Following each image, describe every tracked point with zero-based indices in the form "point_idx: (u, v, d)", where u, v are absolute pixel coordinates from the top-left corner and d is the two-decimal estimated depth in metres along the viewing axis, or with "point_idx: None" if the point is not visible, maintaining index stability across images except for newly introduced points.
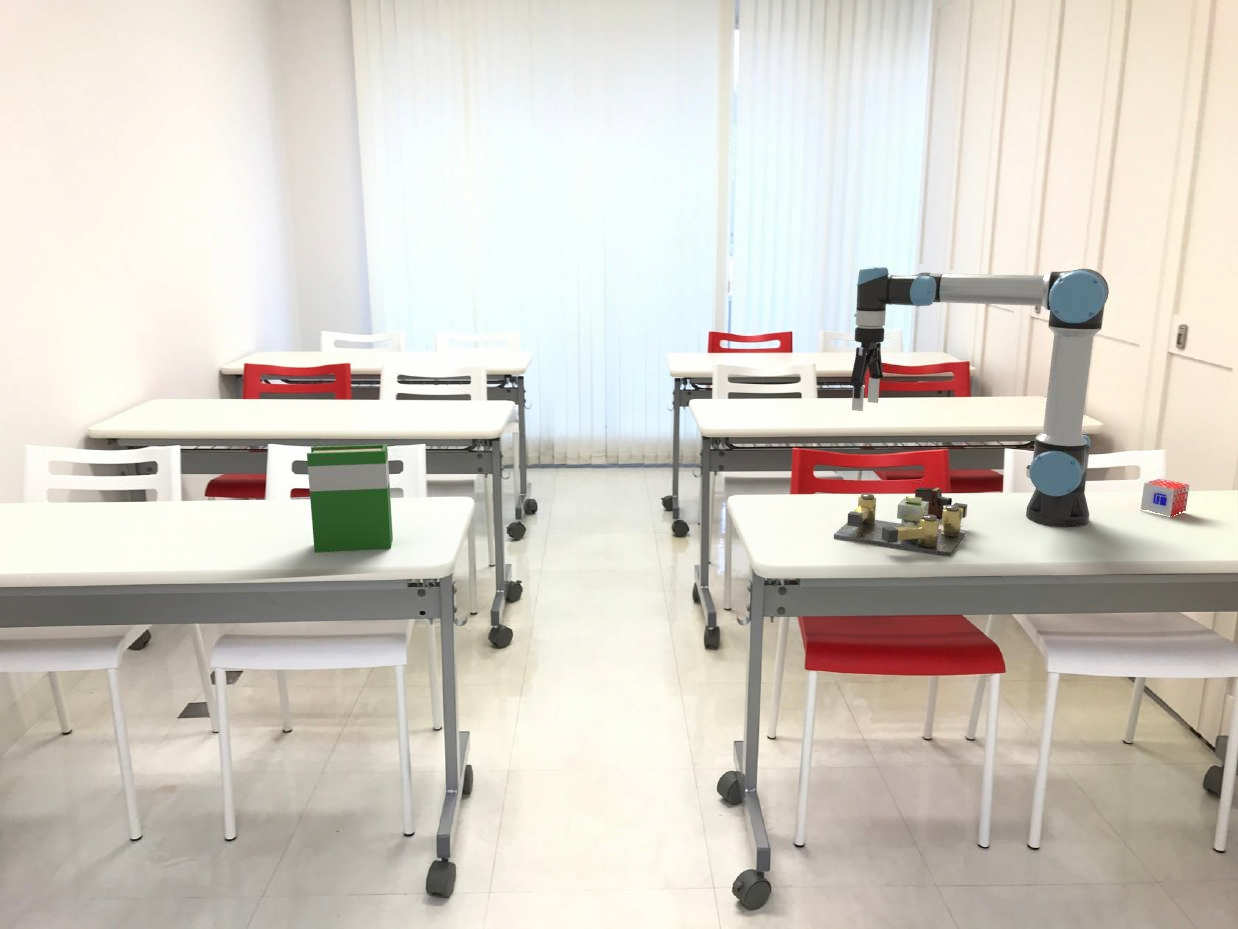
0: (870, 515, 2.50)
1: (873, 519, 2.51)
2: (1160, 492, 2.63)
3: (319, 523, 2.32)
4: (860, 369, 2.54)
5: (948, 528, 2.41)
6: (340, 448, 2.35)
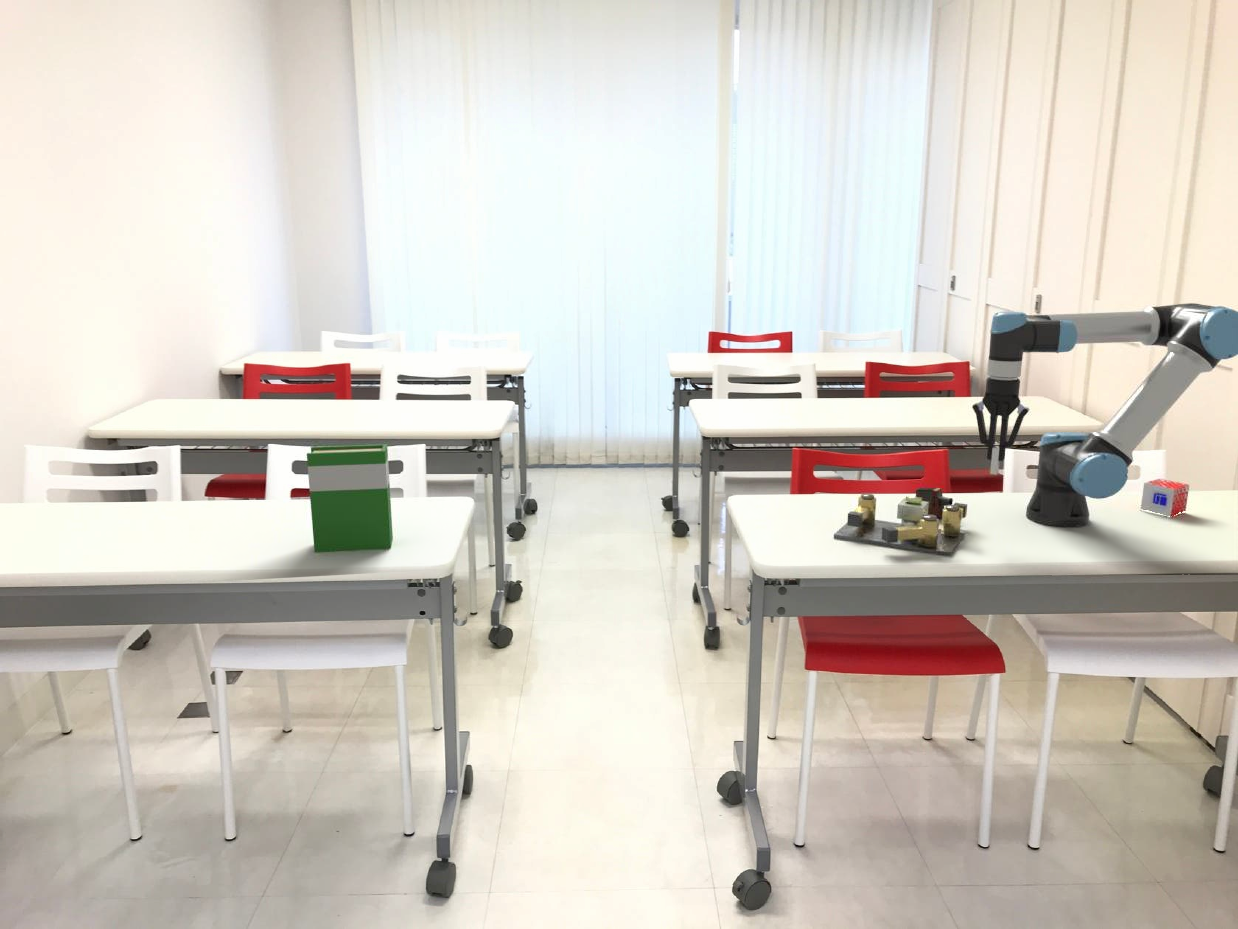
0: (870, 515, 2.50)
1: (873, 519, 2.51)
2: (1160, 492, 2.63)
3: (319, 523, 2.32)
4: None
5: (948, 528, 2.41)
6: (340, 448, 2.35)
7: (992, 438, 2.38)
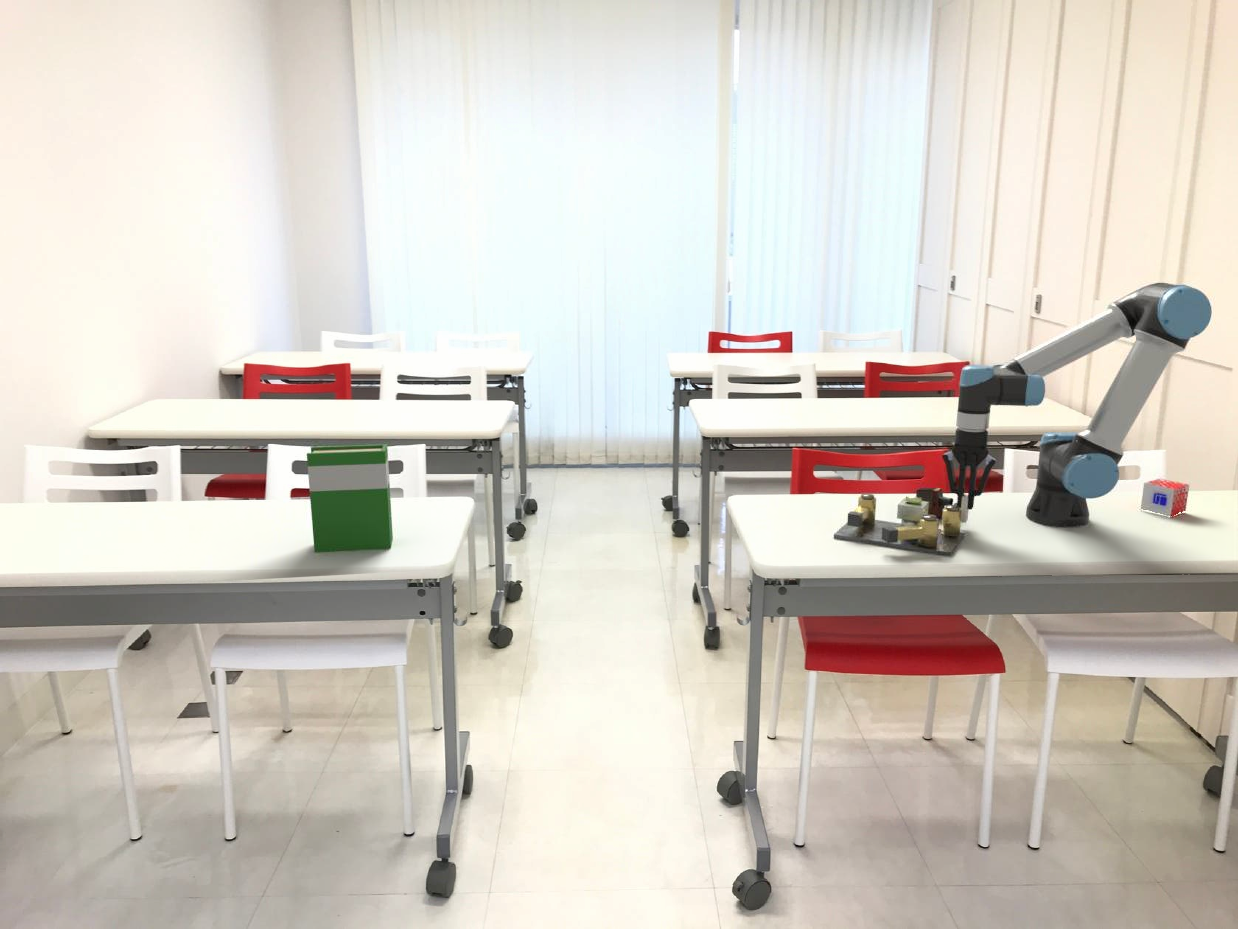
0: (870, 515, 2.50)
1: (873, 519, 2.51)
2: (1160, 492, 2.63)
3: (319, 523, 2.32)
4: None
5: (948, 528, 2.41)
6: (340, 448, 2.35)
7: (961, 487, 2.44)
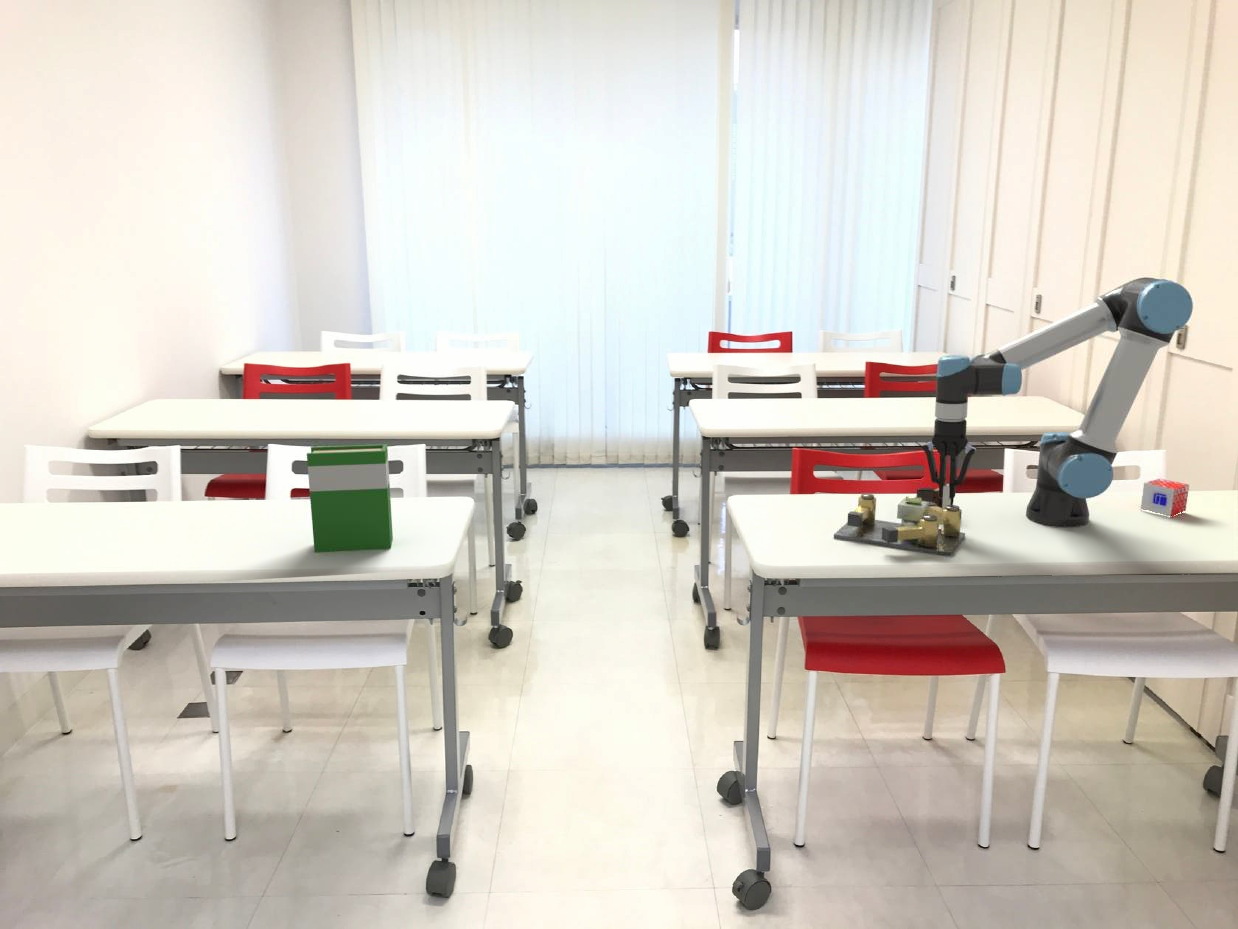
0: (870, 515, 2.50)
1: (873, 519, 2.51)
2: (1160, 492, 2.63)
3: (319, 523, 2.32)
4: None
5: (955, 528, 2.40)
6: (340, 448, 2.35)
7: (942, 477, 2.46)
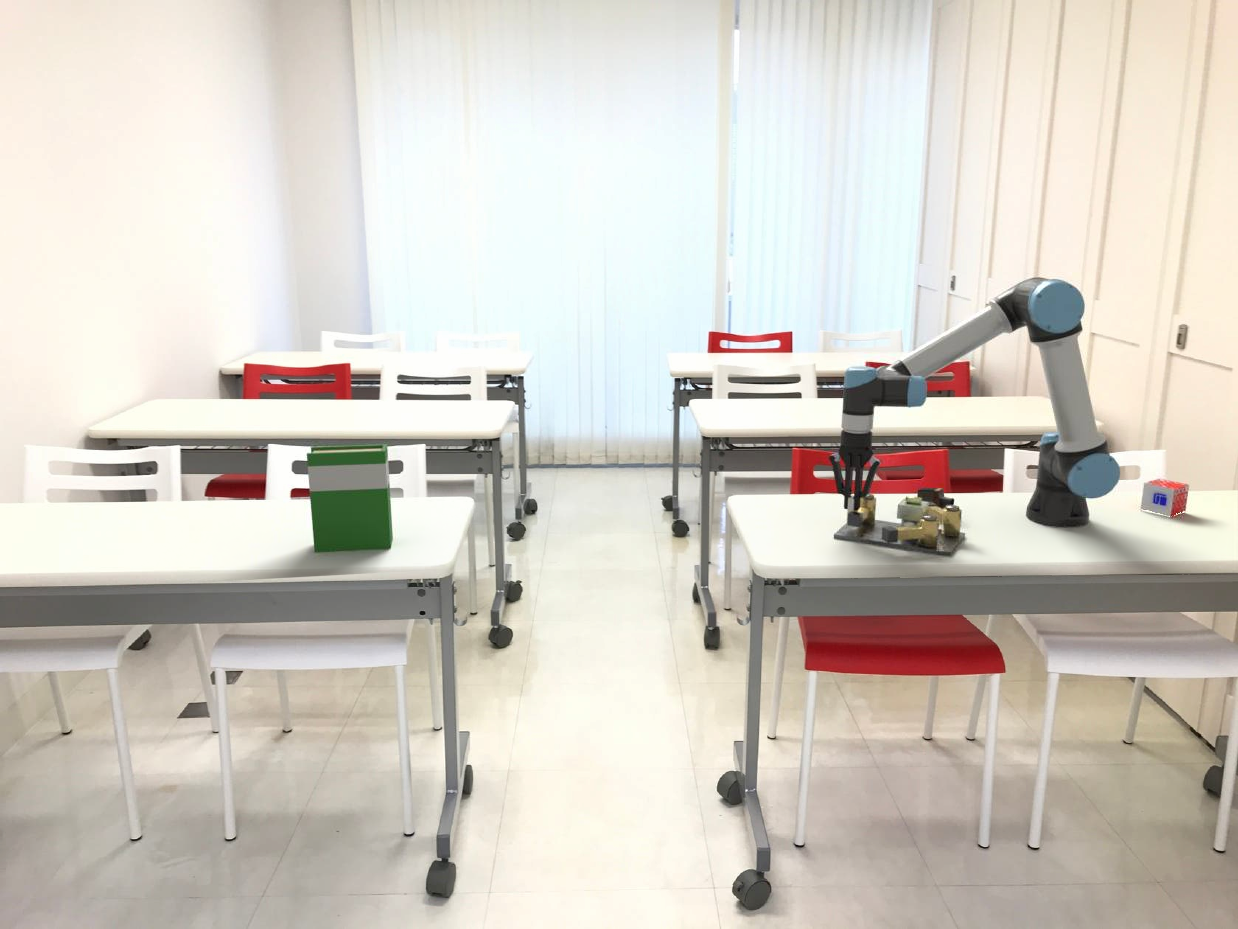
0: (870, 515, 2.50)
1: (873, 519, 2.51)
2: (1160, 492, 2.63)
3: (319, 523, 2.32)
4: None
5: (955, 528, 2.40)
6: (340, 448, 2.35)
7: (848, 488, 2.45)
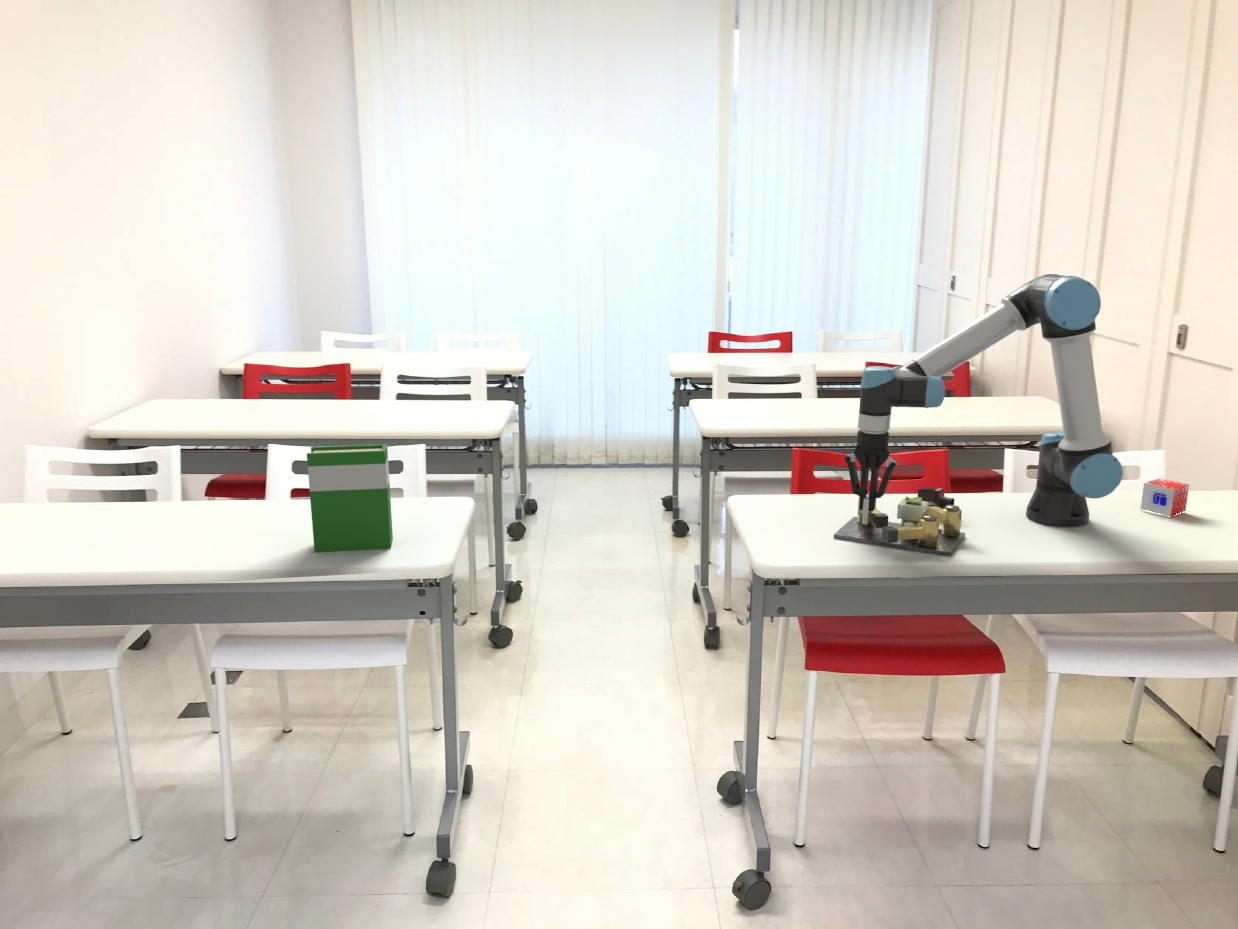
0: None
1: None
2: (1160, 492, 2.63)
3: (319, 523, 2.32)
4: None
5: (955, 528, 2.40)
6: (340, 448, 2.35)
7: (863, 489, 2.43)
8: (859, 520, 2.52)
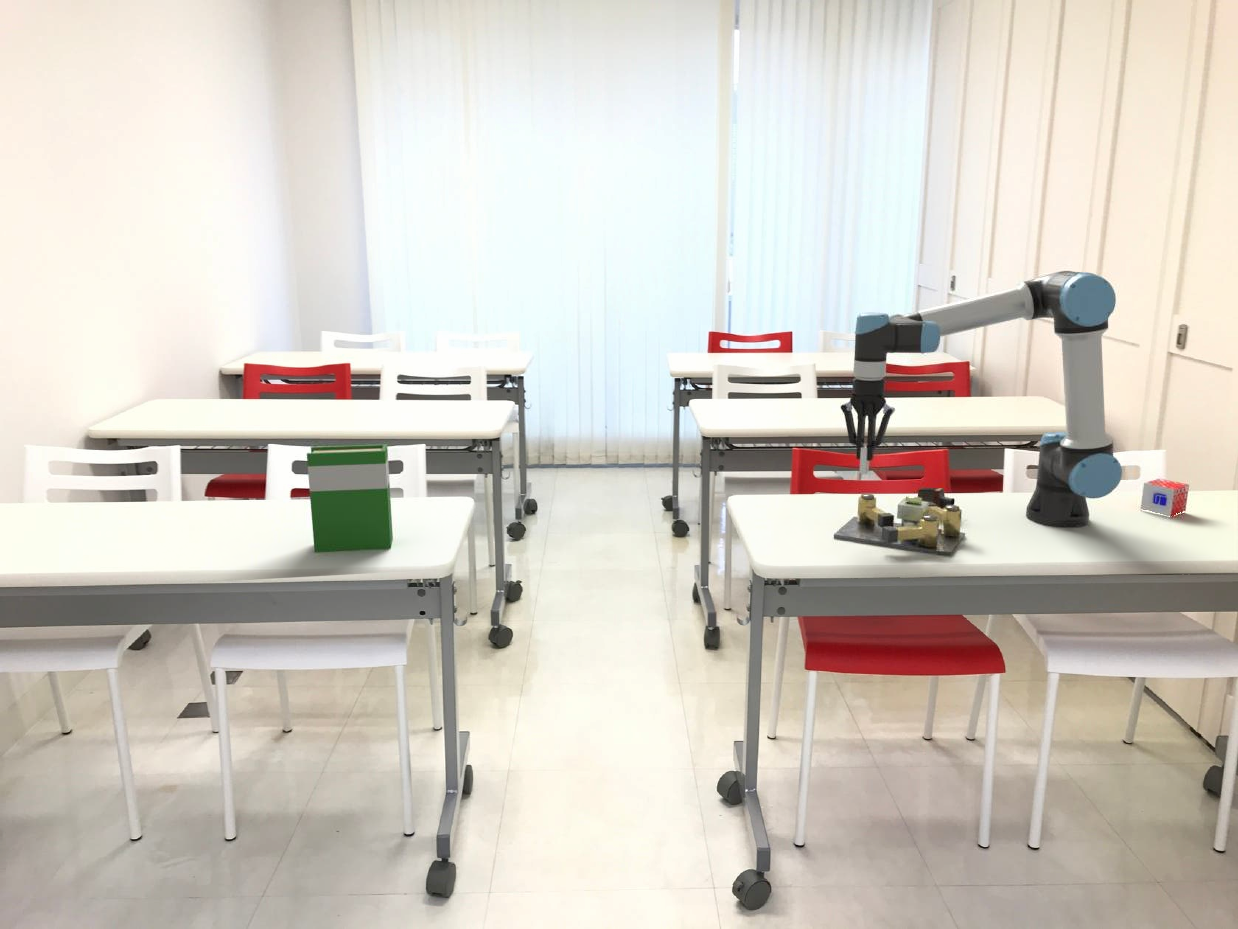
0: None
1: None
2: (1160, 492, 2.63)
3: (319, 523, 2.32)
4: None
5: (955, 528, 2.40)
6: (340, 448, 2.35)
7: (860, 438, 2.40)
8: (860, 520, 2.52)
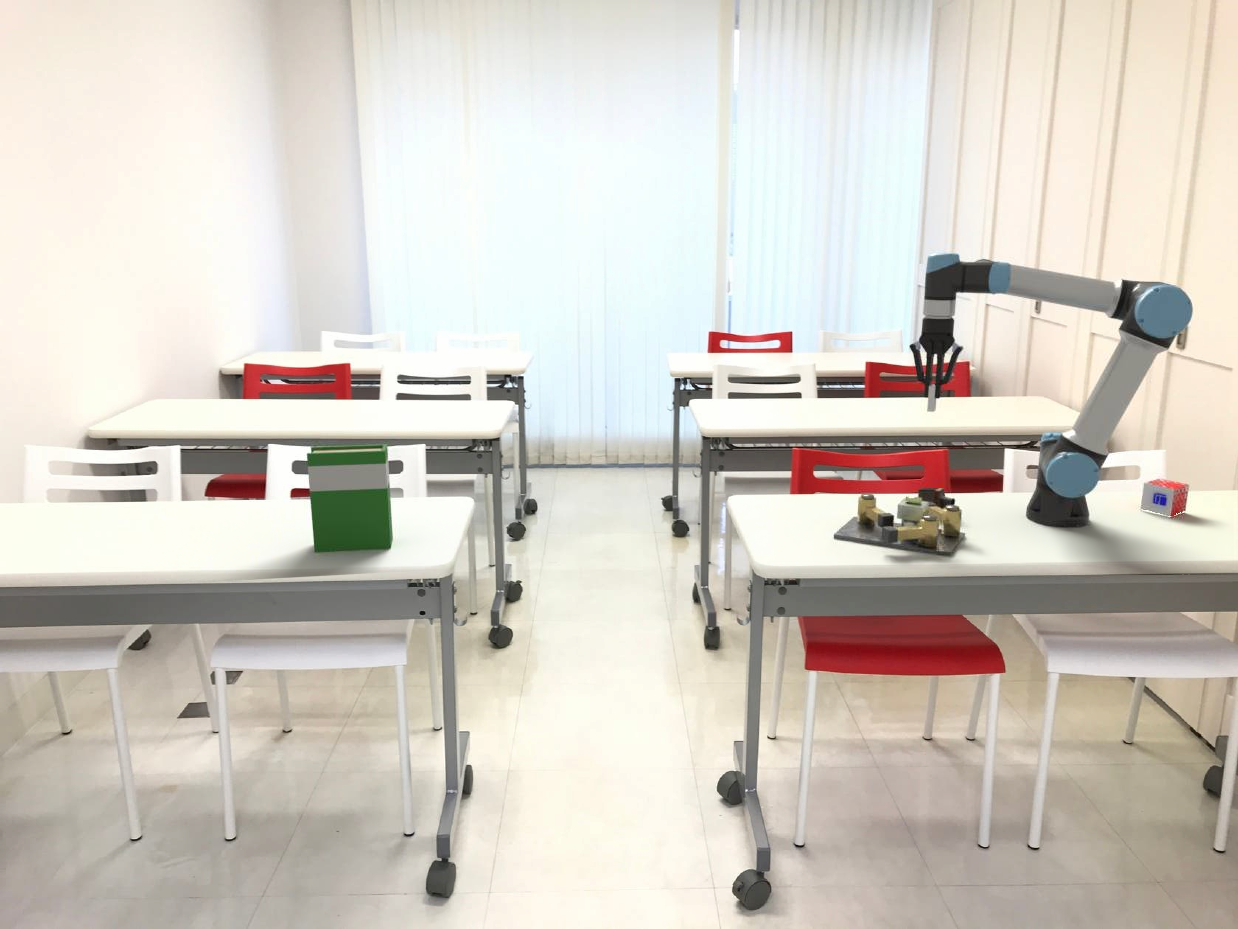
0: None
1: None
2: (1160, 492, 2.63)
3: (319, 523, 2.32)
4: None
5: (955, 528, 2.40)
6: (340, 448, 2.35)
7: (928, 376, 2.47)
8: (860, 520, 2.52)
